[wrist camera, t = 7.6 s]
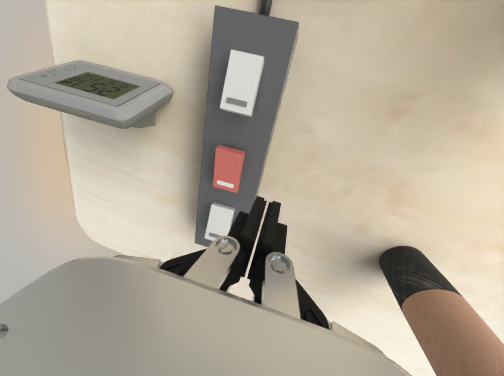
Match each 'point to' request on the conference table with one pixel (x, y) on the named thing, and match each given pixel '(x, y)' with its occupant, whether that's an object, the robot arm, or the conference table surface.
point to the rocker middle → (228, 168)
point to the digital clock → (94, 93)
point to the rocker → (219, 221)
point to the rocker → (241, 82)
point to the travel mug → (441, 317)
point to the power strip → (236, 125)
